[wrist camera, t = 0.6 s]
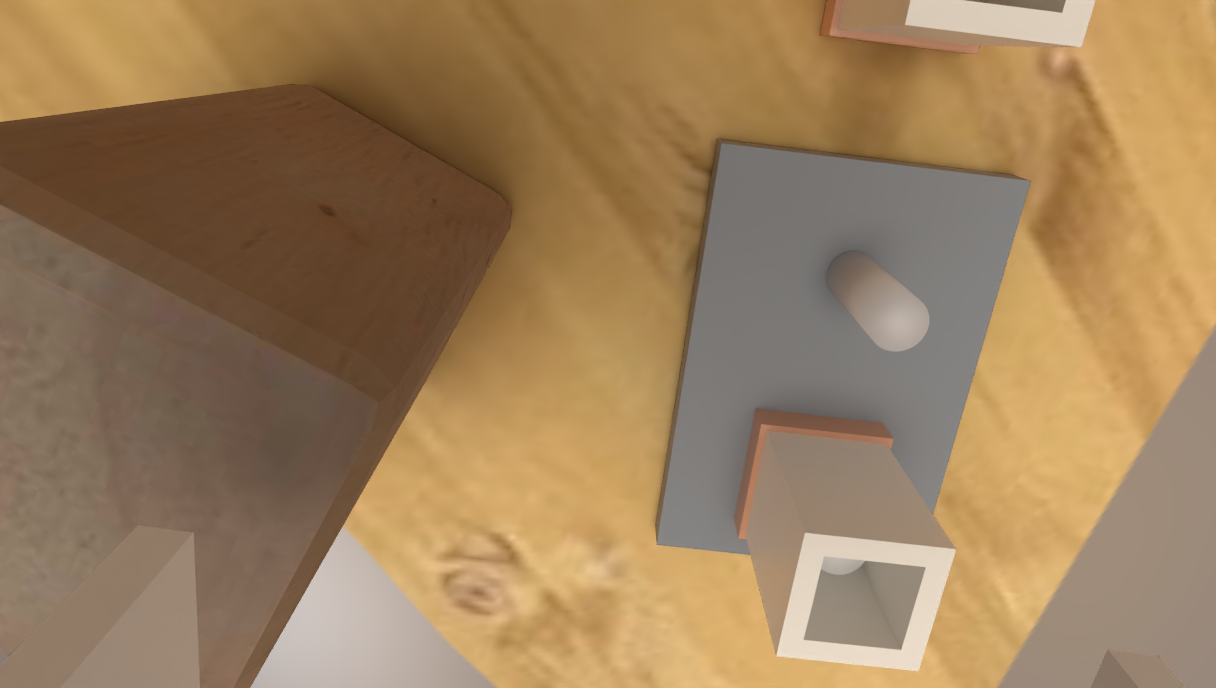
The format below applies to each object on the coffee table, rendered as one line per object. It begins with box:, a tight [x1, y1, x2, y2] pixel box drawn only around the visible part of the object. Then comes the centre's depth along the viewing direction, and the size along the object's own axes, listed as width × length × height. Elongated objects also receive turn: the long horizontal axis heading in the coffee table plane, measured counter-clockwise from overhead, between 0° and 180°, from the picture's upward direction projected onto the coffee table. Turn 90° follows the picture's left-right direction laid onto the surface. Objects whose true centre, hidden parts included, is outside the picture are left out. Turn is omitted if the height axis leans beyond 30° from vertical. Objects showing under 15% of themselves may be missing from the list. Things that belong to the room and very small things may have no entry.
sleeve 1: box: [734, 409, 956, 671], centre depth 32 cm, size 6×6×9 cm
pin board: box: [655, 139, 1031, 575], centre depth 32 cm, size 18×12×8 cm, turn 173°
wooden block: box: [0, 84, 512, 688], centre depth 25 cm, size 10×10×20 cm
